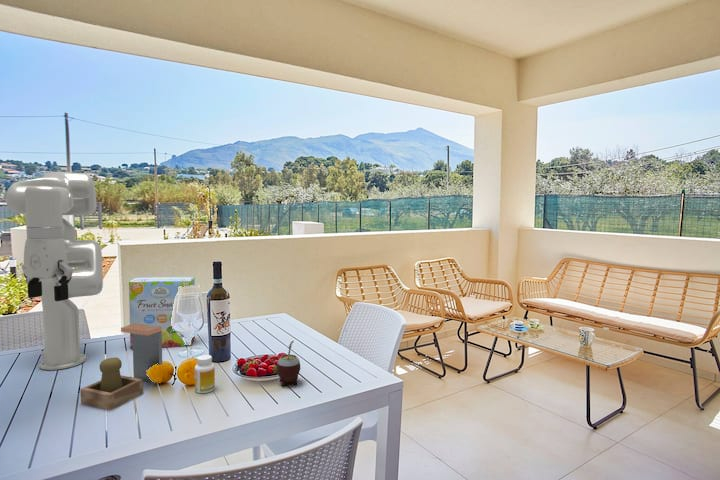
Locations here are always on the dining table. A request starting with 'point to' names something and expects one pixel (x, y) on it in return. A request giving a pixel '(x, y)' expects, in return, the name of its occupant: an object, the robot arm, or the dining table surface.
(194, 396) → the dining table surface
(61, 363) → the robot arm
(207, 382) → the supplement bottle
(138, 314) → the snack box
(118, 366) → the cork
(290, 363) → the mate gourd
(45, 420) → the dining table surface
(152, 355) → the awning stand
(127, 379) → the socket block
